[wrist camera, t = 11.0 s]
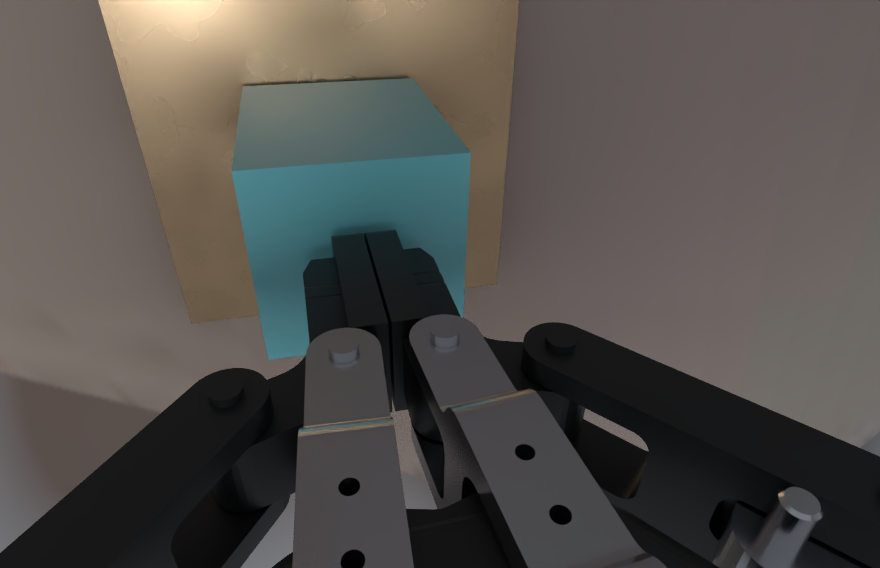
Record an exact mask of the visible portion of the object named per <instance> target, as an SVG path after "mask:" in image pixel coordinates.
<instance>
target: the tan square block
mask: <svg viewBox="0 0 880 568" xmlns="http://www.w3.org/2000/svg"><path fill="white" fill-rule="evenodd" d="M98 1H99V4H100V8H101V11H102V15H103V18H104V22H105V25H106V29H107V32H108V36H109V39H110V42H111V46H112V49H113V53H114V56H115V60H116V63H117V67H118V70H119V74H120V77H121V81H122V84H123V88H124V91H125V95H126V98H127V102H128V105H129V109H130V112H131V115H132V119H133V122H134V126H135V129H136V133H137V136H138V140H139V143H140V147H141V150H142V154H143V157H144V161H145V164H146V168H147V171H148V175H149V178H150V181H151V185H152V188H153V192H154V195H155V199H156V202H157V206H158V209H159V213H160V216H161V220H162V223H163V227H164V230H165V234H166V237H167V241H168V244H169V248H170V251H171V254H172V258H173V261H174V265H175V268H176V272H177V275H178V279H179V282H180V286H181V289H182V293H183V296H184V300H185V303H186V307H187V310H188V314H189V317H190V320H191V324H193V323H201V322H209V321H216V320H224V319H232V318H239V317H247V316H255V315H260V314H259V309H258V304H257V299H256V294H255V289H254V284H253V279H252V273H251V268H250V263H249V258H248V253H247V248H246V243H245V238H244V233H243V228H242V223H241V218H240V213H239V208H238V202H237V197H236V192H235V187H234V182H233V177H232V172H231V170H232V162H233V155H234V147H235V140H236V132H237V125H238V118H239V110H240V103H241V95H242V88H243V86H258V85H279V84H300V83H321V82H342V81H363V80H383V79H404V78H413V79H414V81H415V82H416V83H417V84H418V86H419V87H420V88H421V90H422V91H423V92H424V93H425V95H426V96H427V97H428V98H429V100H430V101H431V102H432V104H433V105H434V106H435V107H436V109H437V110H438V111H439V113H440V114H441V115H442V116H443V118H444V119H445V120H446V122H447V123H448V124H449V125H450V127H451V128H452V129H453V131H454V132H455V133H456V134H457V136H458V137H459V138H460V139H461V141H462V142H463V143H464V145H465V146H466V147H467V148H468V150H469V151H470V152H471V159H470V181H469V202H468V224H467V245H466V267H465V288H470V287H477V286H485V285H493V284H497V276H498V263H499V250H500V238H501V225H502V212H503V200H504V187H505V174H506V162H507V149H508V136H509V124H510V111H511V98H512V86H513V73H514V60H515V48H516V35H517V22H518V10H519V0H98Z"/></svg>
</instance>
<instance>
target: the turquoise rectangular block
mask: <svg viewBox="0 0 880 568" xmlns="http://www.w3.org/2000/svg"><path fill="white" fill-rule="evenodd" d="M470 159H471V152H470V151H469V150H468V148H467V147H466V146H465V145H464V143H463V142H462V141H461V139H460V138H459V137H458V136H457V134H456V133H455V132H454V131H453V129H452V128H451V127H450V125H449V124H448V123H447V122H446V120H445V119H444V118H443V116H442V115H441V114H440V113H439V111H438V110H437V109H436V107H435V106H434V105H433V104H432V102H431V101H430V100H429V98H428V97H427V96H426V95H425V93H424V92H423V91H422V90H421V88H420V87H419V86H418V84H417V83H416V82H415V81H414V79H413V78H404V79H383V80H363V81H342V82H321V83H300V84H279V85H258V86H243V88H242V95H241V103H240V110H239V118H238V125H237V132H236V140H235V147H234V155H233V162H232V170H231V172H232V177H233V182H234V187H235V192H236V197H237V202H238V208H239V213H240V218H241V223H242V228H243V233H244V238H245V243H246V248H247V253H248V258H249V263H250V268H251V273H252V279H253V284H254V289H255V294H256V299H257V304H258V309H259V314H260V319H261V324H262V329H263V334H264V339H265V344H266V350H267V355H268V360H273V359H280V358H287V357H294V356H301V355H306V351H307V348H308V346H309V332H308V322H307V311H306V301H305V291H304V281H303V272H304V270H305V269H306V267H307V265H308V264H309V262H310V261H311V260H314V259H323V258H332V257H333V253H332V243H331V236H339V235H349V234H358V233H362V234H363V236H364V233H367V232H376V231H386V230H396V232H397V234H398V237H399V239H400V242H401V244H402V247H403V249H411V248H421V249H423V250H424V251H425V252H427V253H428V254H429V255H431V256H432V257H433V258H434V260H435V262H436V264H437V266H438V268H439V272H440V273H441V275H442V277H443V279H444V283H446V286H447V288H448V290H449V292H450V294H451V296H452V299H453V301H454V303H455V305H456V307H457V309H458V312H459V314H460V316H461V317H462V318H463V310H464V288H465V267H466V245H467V224H468V202H469V181H470Z"/></svg>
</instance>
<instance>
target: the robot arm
mask: <svg viewBox="0 0 880 568" xmlns="http://www.w3.org/2000/svg"><path fill="white" fill-rule="evenodd" d="M331 243H332V253H333V257H332V258H323V259H314V260H311V261H310V262H309V264H308V265H307V267H306V269H305V270H304V272H303V281H304V291H305V301H306V311H307V322H308V332H309V346H308V348H307V351H306V356H305V357H304V359H303V360H302V361H301V362H300V363H299V364H298V365H296V366H295V367H294V368H292V369H291V370H289V371H287V372H285V373H283V374H281V375H278V376H276V377H273V378H271V379H268V380H266V379H265V378H264V376H263V375H261V374H260V373H258V372H256V371H254V370H250V369H244V368H231V369H225V370H220V371H217V372H214V373H212V374H210V375H208V376H206V377H204V378H202V379H201V380H199V381H198V382H197V383H195V384H194V385H193V386H192V387H191V388H190V389H188V390H187V391H186V392H185V393H184V394H183V395H182V396H180V397H179V398H178V399H177V400H176V401H175V402H173V403H172V404H171V405H170V406H169V407H168V408H167V409H165V410H164V411H163V412H162V413H161V414H160V415H159V416H157V417H156V418H155V419H154V420H153V421H152V422H150V423H149V424H148V425H147V426H146V427H145V428H144V429H142V430H141V431H140V432H139V433H138V434H137V435H136V436H134V437H133V438H132V439H131V440H130V441H129V442H127V443H126V444H125V445H124V446H123V447H122V448H121V449H119V450H118V451H117V452H116V453H115V454H114V455H113V456H112V457H110V458H109V459H108V460H107V461H106V462H105V463H103V464H102V465H101V466H100V467H99V468H98V469H97V470H95V471H94V472H93V473H92V474H91V475H90V476H88V477H87V478H86V479H85V480H84V481H83V482H82V483H80V484H79V485H78V486H77V487H76V488H75V489H73V490H72V491H71V492H70V493H69V494H68V495H67V496H65V497H64V498H63V499H62V500H61V501H60V502H59V503H57V504H56V505H55V506H54V507H53V508H52V509H51V510H49V511H48V512H47V513H46V514H45V515H44V516H42V517H41V518H40V519H39V520H38V521H37V522H35V523H34V524H33V525H32V526H31V527H30V528H29V529H27V530H26V531H25V532H24V533H23V534H22V535H21V536H19V537H18V538H17V539H16V540H15V541H14V542H12V544H10V545H9V546H8V547H7V548H6V549H4V550H3V551H2V552H1V553H0V568H240V567H241V566H242V565H243V563H244V562H245V561H246V560H247V558H248V557H249V555H250V554H251V553H252V552H253V550H254V549H255V548H256V546H257V545H258V544H259V542H260V541H261V540H262V539H263V537H264V536H265V535H266V533H267V532H268V531H269V529H270V528H271V527H272V525H273V524H274V523H275V522H276V520H277V519H278V518H279V516H280V515H281V514H282V512H283V511H284V509H285V508H286V506H287V504H288V502H289V498H290V494H292V493H294V492H295V517H294V540H293V552H292V553H291V554H289V555H287V556H286V557H285V558H284V559H282V560H281V561H280V562H278V563H277V564H276V565H275V566H273V567H272V568H880V457H879V456H877V455H875V454H872V453H870V452H867V451H865V450H863V449H861V448H858V447H856V446H854V445H851V444H849V443H847V442H844V441H842V440H840V439H837V438H835V437H833V436H830V435H828V434H826V433H823V432H821V431H819V430H816V429H814V428H812V427H809V426H807V425H805V424H802V423H800V422H797V421H795V420H793V419H790V418H788V417H786V416H783V415H781V414H779V413H776V412H774V411H772V410H769V409H767V408H765V407H762V406H760V405H758V404H755V403H753V402H751V401H748V400H746V399H744V398H741V397H739V396H737V395H734V394H732V393H730V392H727V391H725V390H723V389H720V388H718V387H716V386H713V385H711V384H709V383H706V382H704V381H702V380H699V379H697V378H695V377H692V376H690V375H688V374H685V373H683V372H681V371H678V370H676V369H674V368H671V367H669V366H667V365H664V364H662V363H660V362H657V361H655V360H652V359H650V358H648V357H645V356H643V355H641V354H638V353H636V352H634V351H631V350H629V349H627V348H624V347H622V346H620V345H617V344H615V343H613V342H610V341H608V340H606V339H603V338H601V337H599V336H596V335H594V334H592V333H589V332H587V331H585V330H582V329H580V328H578V327H575V326H572V325H569V324H565V323H554V322H552V323H544V324H540V325H537V326H535V327H533V328H531V329H530V330H529V331H528V332H527V333H526V335H525V337H524V342H510V341H499V340H493V339H489V338H486V337H483V336H482V334H481V333H480V331H479V329H478V328H477V327H476V326H475V325H474V324H473V323H472V322H470V321H469V320H467V319H465V318H462V317H461V316H460V314H459V312H458V309H457V307H456V305H455V303H454V301H453V299H452V296H451V294H450V292H449V290H448V288H447V286H446V283H444V279H443V277H442V275H441V273H440V272H439V268H438V266H437V264H436V262H435V260H434V258H433V257H432V256H431V255H429V254H428V253H427V252H425V251H424V250H423V249H421V248H411V249H403V247H402V244H401V242H400V239H399V237H398V234H397V232H396V230H386V231H376V232H367V233H364V236H363V234H362V233H358V234H349V235H339V236H331ZM392 400H393V404H394V408H395V411H400V410H406V409H408V411H409V415H410V418H411V439H412V442H413V445H414V448H415V451H416V453H417V456H418V459H419V461H420V464H421V467H422V469H423V472H424V475H425V477H426V480H427V483H428V486H429V488H430V491H431V493H432V496H433V499H434V501H435V504H436V507H437V509H436V510H428V509H406V507H405V500H404V493H403V485H402V479H401V471H400V464H399V457H398V450H397V442H396V435H395V428H394V422H393V418H392V417H391V416H390V412H392ZM585 408H586V409H588V410H590V411H592V412H594V413H596V414H598V415H600V416H602V417H604V418H606V419H608V420H610V421H612V422H614V423H616V424H618V425H620V426H622V427H624V428H626V429H628V430H630V431H632V432H634V433H636V434H637V435H639V436H640V437H641V438H642V439H643V440H644V441H645V443H646V445H647V447H648V449H649V452H648V451H645V450H643V449H641V448H639V447H637V446H635V445H633V444H631V443H629V442H627V441H625V440H623V439H621V438H619V437H617V436H615V435H613V434H611V433H609V432H607V431H606V430H604V429H602V428H600V427H598V426H596V425H594V424H592V423H590V422H588V421H586V420H584V419H583V416H584V412H585Z"/></svg>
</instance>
